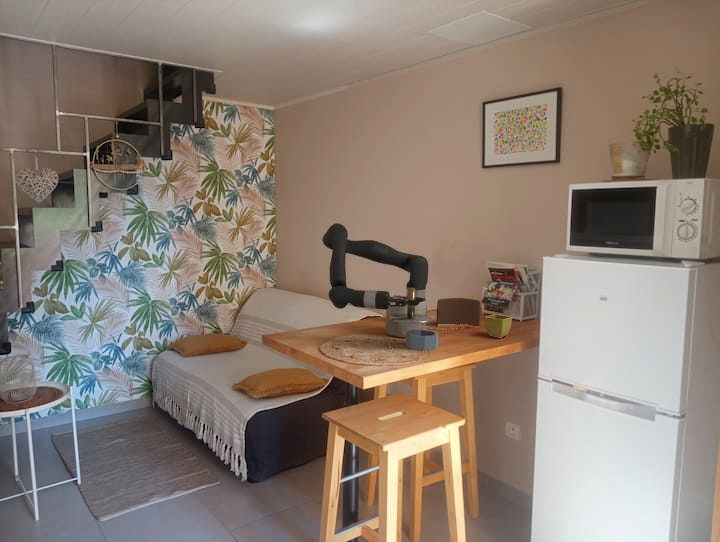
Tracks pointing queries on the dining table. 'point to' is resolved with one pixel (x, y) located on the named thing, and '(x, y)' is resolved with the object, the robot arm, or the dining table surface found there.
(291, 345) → the dining table surface
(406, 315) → the spindle on round base
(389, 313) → the planter
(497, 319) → the flower pot
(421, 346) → the bowl
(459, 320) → the letter holder
